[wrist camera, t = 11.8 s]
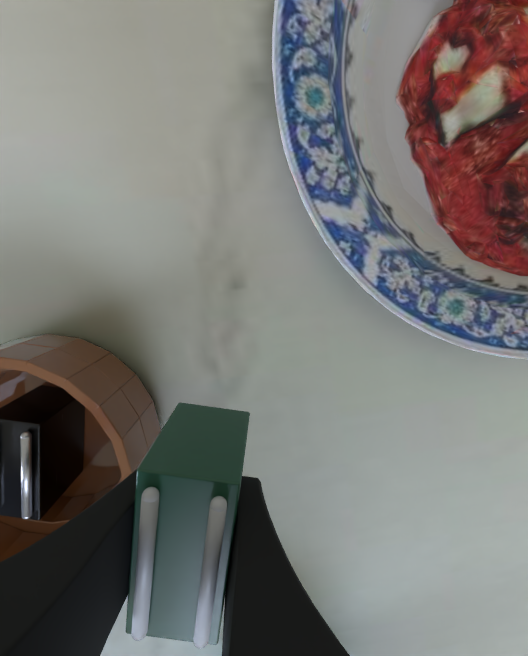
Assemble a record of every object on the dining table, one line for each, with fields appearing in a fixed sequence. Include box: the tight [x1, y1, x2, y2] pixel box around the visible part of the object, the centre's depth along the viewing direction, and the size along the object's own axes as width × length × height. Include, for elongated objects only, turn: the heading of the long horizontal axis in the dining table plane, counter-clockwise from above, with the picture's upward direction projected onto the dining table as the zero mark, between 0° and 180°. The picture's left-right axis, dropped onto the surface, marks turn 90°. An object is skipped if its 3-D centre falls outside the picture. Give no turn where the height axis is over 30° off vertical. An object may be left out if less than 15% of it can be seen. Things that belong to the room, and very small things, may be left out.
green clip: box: [126, 403, 250, 649], centre depth 10 cm, size 5×2×4 cm, turn 172°
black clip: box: [0, 385, 85, 520], centre depth 17 cm, size 5×2×4 cm, turn 172°
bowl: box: [0, 334, 161, 562], centre depth 17 cm, size 11×11×4 cm
